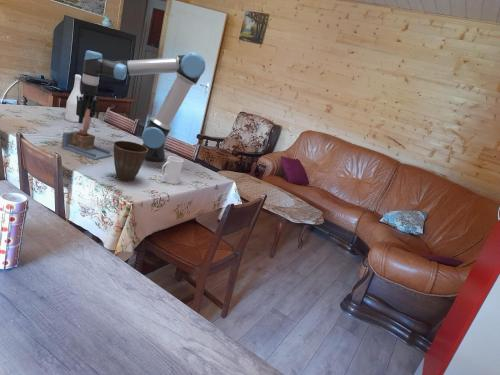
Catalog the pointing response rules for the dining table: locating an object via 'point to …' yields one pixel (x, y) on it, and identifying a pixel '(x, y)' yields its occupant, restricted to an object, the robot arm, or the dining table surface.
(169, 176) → the mug
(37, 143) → the dining table surface
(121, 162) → the plant pot
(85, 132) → the dowel
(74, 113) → the wine bottle
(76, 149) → the rail board
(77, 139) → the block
